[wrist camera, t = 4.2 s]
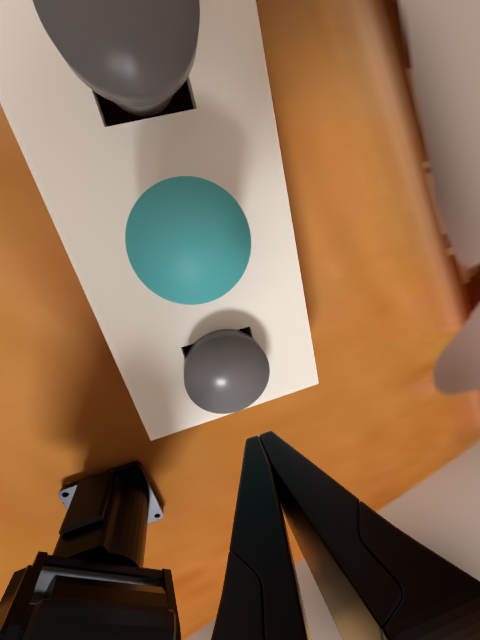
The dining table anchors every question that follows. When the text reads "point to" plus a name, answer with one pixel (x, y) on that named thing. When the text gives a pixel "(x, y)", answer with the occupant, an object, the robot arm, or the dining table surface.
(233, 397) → the knob
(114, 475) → the robot arm
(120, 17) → the knob
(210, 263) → the middle knob
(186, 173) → the knob mount
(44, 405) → the dining table surface
